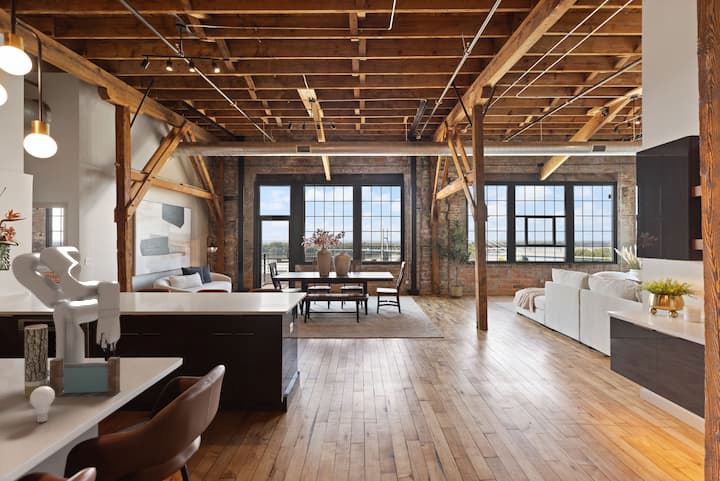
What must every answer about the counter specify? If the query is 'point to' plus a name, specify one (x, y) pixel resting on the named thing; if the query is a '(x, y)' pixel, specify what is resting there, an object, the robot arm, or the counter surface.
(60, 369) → the gate frame
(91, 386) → the gate
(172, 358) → the counter surface
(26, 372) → the wooden log
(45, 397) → the lightbulb
